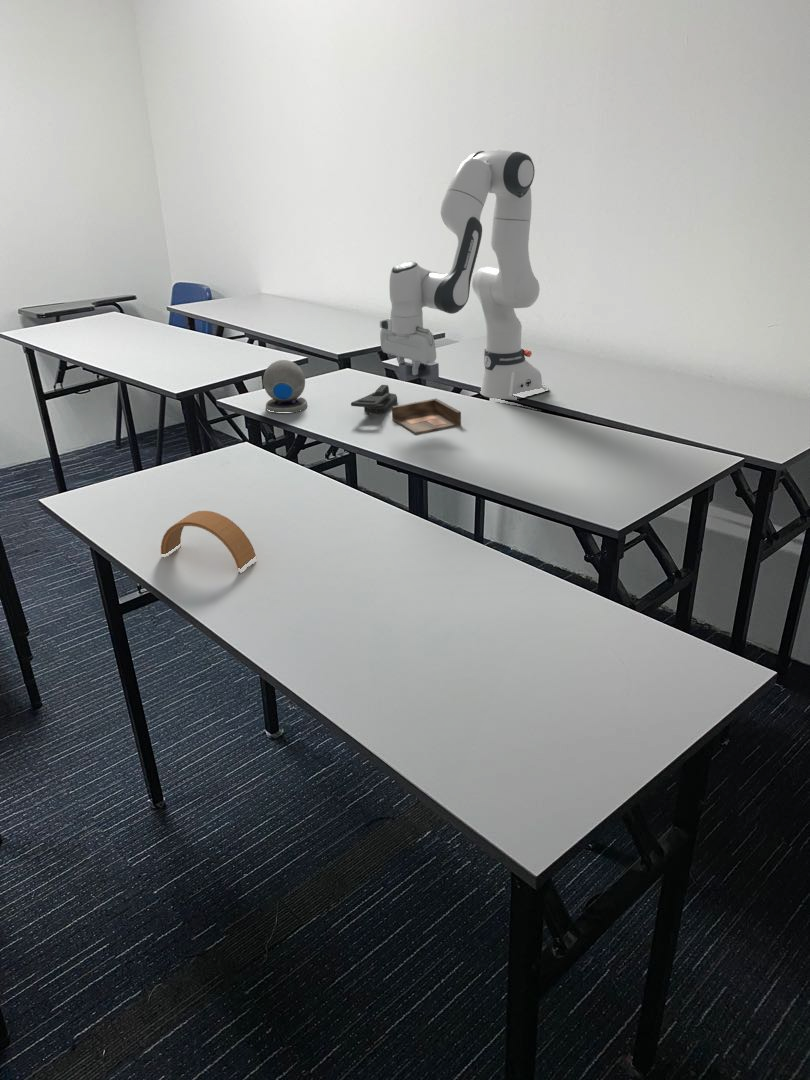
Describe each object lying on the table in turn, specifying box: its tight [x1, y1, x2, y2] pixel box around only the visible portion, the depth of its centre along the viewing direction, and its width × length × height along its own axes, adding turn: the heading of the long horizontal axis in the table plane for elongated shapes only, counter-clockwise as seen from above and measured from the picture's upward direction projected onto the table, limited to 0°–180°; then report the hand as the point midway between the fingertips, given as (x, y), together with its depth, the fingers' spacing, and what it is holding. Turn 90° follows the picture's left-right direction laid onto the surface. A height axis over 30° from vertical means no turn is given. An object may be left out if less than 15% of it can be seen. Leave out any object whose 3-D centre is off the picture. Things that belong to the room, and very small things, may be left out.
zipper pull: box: [350, 384, 398, 415], centre depth 251 cm, size 9×7×25 cm
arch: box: [160, 510, 257, 569], centre depth 168 cm, size 6×20×10 cm, turn 66°
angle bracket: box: [398, 360, 440, 382], centre depth 232 cm, size 8×8×4 cm
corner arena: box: [391, 398, 462, 435], centre depth 241 cm, size 15×15×4 cm
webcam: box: [262, 359, 308, 413], centre depth 255 cm, size 13×13×15 cm
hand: (409, 373), depth 233 cm, fingers closed on angle bracket, 3 cm apart
